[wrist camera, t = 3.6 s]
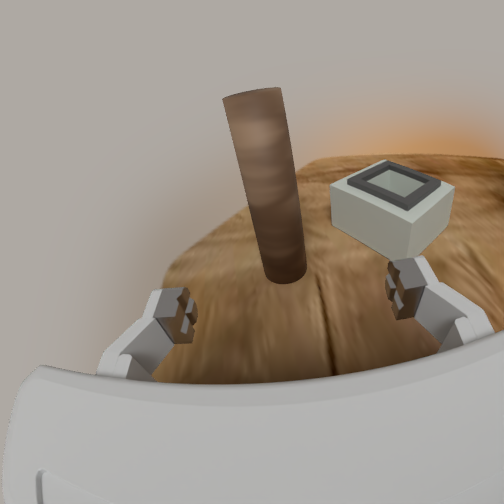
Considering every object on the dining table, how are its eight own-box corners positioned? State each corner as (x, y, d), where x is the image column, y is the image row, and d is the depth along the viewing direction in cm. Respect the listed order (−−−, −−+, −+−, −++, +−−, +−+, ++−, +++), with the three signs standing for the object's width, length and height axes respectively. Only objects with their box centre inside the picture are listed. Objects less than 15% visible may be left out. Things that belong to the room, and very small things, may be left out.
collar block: (404, 268, 23) (413, 217, 19) (332, 225, 30) (329, 179, 27) (447, 225, 26) (455, 181, 22) (383, 194, 33) (384, 154, 30)
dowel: (280, 290, 24) (239, 99, 14) (257, 268, 27) (213, 100, 17) (315, 269, 25) (292, 87, 16) (289, 249, 28) (260, 88, 18)
